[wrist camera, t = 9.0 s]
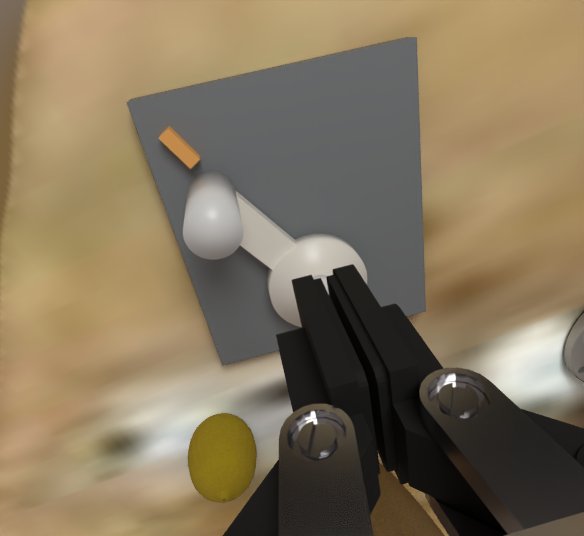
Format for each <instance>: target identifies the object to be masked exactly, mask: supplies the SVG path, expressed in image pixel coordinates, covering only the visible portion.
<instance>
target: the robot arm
mask: <svg viewBox="0 0 584 536" xmlns="http://www.w3.org/2000/svg"><path fill="white" fill-rule="evenodd" d="M326 279H327V286H328V291H329V294H328V292H327V290H326V288H325V286H324V284H323V281H322V279H321V278H318V279H313V277H312V275H308V276H304V277H300V278H296V279H292V285H293V290H294V294H295V299H296V303H297V308H298V312H299V317H300V321H301V326H302V328H299V329H295V330H291V331H287V332H283V333H280V334H276V338H277V342H278V347H279V351H280V356H281V360H282V365H283V369H284V374H285V378H286V383H287V387H288V392H289V396H290V401H291V405H292V409H293V413H292V414H291V415H290V416H289V417H288V418H287V419H286V420H285V422H284V424H283V426H282V428H281V430H280V436H279V460H278V461H277V462H276V464H275V465H274V467H273V468H272V469H271V471H270V472H269V473H268V475H267V476H266V477H265V479H264V480H263V482H262V483H261V484H260V486H259V487H258V488H257V490H256V491H255V492H254V494H253V495H252V497H251V498H250V499H249V501H248V502H247V503H246V505H245V506H244V508H243V509H242V510H241V512H240V513H239V514H238V516H237V517H236V518H235V520H234V521H233V523H232V524H231V525H230V527H229V528H228V529H227V531H226V532H225V533H224V535H223V536H374V535H373V529H372V524H371V518H370V515H371V513H372V511H373V509H374V507H375V505H376V503H377V501H378V499H379V497H380V495H381V492H380V485H379V478H378V475H379V474H380V467H379V460H378V453H379V455H380V458H381V460H382V463H383V465H384V467H385V470H386V471H387V472H390V471H393V470H395V472H396V475H397V477H398V479H399V482H400V484H405V483H409V485H410V486H411V487H413V488H415V489H417V490H419V491H421V492H423V493H425V497H426V499H427V501H428V503H429V505H430V507H431V508H432V510H433V512H434V513H435V515H436V516H437V518H438V519H439V521H440V522H441V524H442V525H443V527H444V528H445V530H446V532H447V533H448V535H449V536H584V428H580V427H577V426H574V425H571V424H568V423H564V422H561V421H558V420H555V419H552V418H549V417H545V416H542V415H539V414H536V413H533V412H529V411H526V410H523V409H520V408H519V407H518V406H517V405H515V404H514V403H513V402H512V401H511V400H510V399H509V398H508V397H507V396H506V395H505V394H504V393H502V392H501V391H500V390H499V389H498V388H497V387H496V386H495V385H494V384H493V383H492V382H491V381H489V380H488V379H486V378H485V377H484V376H482V375H481V374H479V373H476V372H474V371H471V370H468V369H463V368H444V369H443V367H442V366H441V364H440V363H439V362H438V360H437V359H436V357H435V356H434V355H433V353H432V352H431V350H430V349H429V348H428V346H427V345H426V343H425V342H424V341H423V339H422V338H421V336H420V335H419V334H418V332H417V331H416V329H415V328H414V327H413V325H412V324H411V322H410V321H409V320H408V318H407V317H406V315H405V314H404V313H403V311H402V310H401V308H400V307H399V306H398V305H397V304H391V305H387V306H383V307H381V306H380V305H379V303H378V301H377V300H376V298H375V297H374V295H373V294H372V292H371V291H370V289H369V287H368V286H367V284H366V283H365V281H364V280H363V278H362V277H361V275H360V273H359V272H358V270H357V269H356V267H355V266H354V265H353V264H351V265H347V266H343V267H339V268H335V269H333V275H330V276H327V277H326ZM564 358H565V363H566V365H567V367H568V369H569V370H570V371H571V372H572V373H573V374H574V375H575V376H576V377H577V378H578V379H580V380H581V381H583V382H584V313H583V314H582V315H581V316H580V317H579V319H578V320H577V322H576V323H575V325H574V326H573V328H572V330H571V332H570V334H569V336H568V338H567V341H566V345H565V352H564ZM377 450H378V452H377Z"/></svg>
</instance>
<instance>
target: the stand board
mask: <svg viewBox="0 0 584 536" xmlns="http://www.w3.org/2000/svg"><path fill="white" fill-rule="evenodd" d="M127 105H128V107H129V110H130V113H131V116H132V118H133V121H134V124H135V127H136V129H137V132H138V135H139V138H140V140H141V143H142V146H143V149H144V151H145V154H146V157H147V160H148V162H149V165H150V168H151V170H152V173H153V176H154V179H155V181H156V184H157V187H158V190H159V192H160V195H161V198H162V201H163V203H164V206H165V209H166V212H167V214H168V217H169V220H170V223H171V225H172V228H173V231H174V234H175V236H176V239H177V242H178V245H179V247H180V250H181V253H182V256H183V258H184V261H185V264H186V266H187V269H188V272H189V275H190V277H191V280H192V283H193V286H194V288H195V291H196V294H197V297H198V299H199V302H200V305H201V308H202V310H203V313H204V316H205V319H206V321H207V324H208V327H209V330H210V332H211V335H212V338H213V341H214V343H215V346H216V349H217V352H218V354H219V357H220V360H221V362H222V365H227V364H231V363H234V362H238V361H242V360H245V359H249V358H253V357H257V356H260V355H264V354H268V353H272V352H275V351H279V347H278V342H277V338H276V334H280V333H283V332H287V331H291V330H295V329H299V328H302V327H299V326H295V325H293V324H291V323H289V322H287V321H285V320H284V319H283V318H282V317H281V316H280V315H279V314H278V313H277V312H276V310H275V309H274V307H273V305H272V302H271V299H270V295H269V291H268V285H267V276H268V270H269V267H268V266H266V265H265V264H264V263H263V262H261V261H260V260H259V259H257V258H256V257H255V256H253V255H252V254H251V253H249V252H248V251H247V250H245V249H244V248H243V247H242V246H239V247H238V249H237V250H236V251H235V252H234V253H232V254H231V255H229V256H227V257H225V258H222V259H217V260H210V259H205V258H201V257H199V256H197V255H196V254H194V253H193V252H192V251H191V250H190V249H189V248H188V247H187V245H186V243H185V241H184V238H183V224H184V216H185V209H186V201H187V193H188V187H189V185H190V183H191V181H192V180H193V179H194V178H195V177H196V176H197V175H199V174H201V173H204V172H218V173H221V174H223V175H225V176H226V177H228V178H229V179H230V180H231V182H232V183H233V185H234V187H235V190H236V191H237V192H238V193H239V194H241V195H242V196H243V197H244V198H245V199H247V200H248V201H249V202H250V203H251V204H253V205H254V206H255V207H256V208H257V209H259V210H260V211H261V212H262V213H263V214H265V215H266V216H267V217H268V218H269V219H271V220H272V221H273V222H274V223H275V224H277V225H278V226H279V227H280V228H281V229H283V230H284V231H285V232H286V233H287V234H289V235H290V236H291V237H292V238H293V239H297V238H299V237H302V236H305V235H309V234H316V233H324V234H330V235H335V236H337V237H340V238H342V239H343V240H345V241H346V242H348V243H349V244H350V245H351V246H352V247H353V248H354V250H355V251H356V252H357V254H358V255H359V257H360V258H361V260H362V261H363V263H364V265H365V268H366V271H367V286H368V287H369V289H370V291H371V292H372V294H373V295H374V297H375V298H376V300H377V301H378V303H379V305H380V306H381V307H383V306H387V305H391V304H397V305H398V306H399V307H400V308H401V310H402V311H403V313H404V314H405V315H406V316H410V315H414V314H417V313H421V312H425V311H426V303H425V272H424V242H423V212H422V182H421V152H420V122H419V92H418V61H417V37H406V38H401V39H397V40H392V41H388V42H383V43H379V44H374V45H370V46H365V47H361V48H357V49H352V50H348V51H343V52H339V53H334V54H330V55H325V56H321V57H316V58H312V59H308V60H303V61H299V62H294V63H290V64H285V65H281V66H276V67H272V68H267V69H263V70H259V71H254V72H250V73H245V74H241V75H236V76H232V77H227V78H223V79H218V80H214V81H210V82H205V83H201V84H196V85H192V86H187V87H183V88H178V89H174V90H169V91H165V92H161V93H156V94H152V95H147V96H143V97H138V98H134V99H130V100H129V101H128V102H127Z"/></svg>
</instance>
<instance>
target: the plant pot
mask: <svg viewBox="0 0 584 536" xmlns="http://www.w3.org/2000/svg"><path fill="white" fill-rule="evenodd" d="M379 467H380V474H379V475H378V478H379V485H380V492H381V495H380V497H379V499H378V501H377V503H376V505H375V507H374V509H373V511H372V513H371V515H370V518H371V524H372V529H373V535H374V536H444V534H443V533H442V532H441V530H440V529H439V528H438V526H437V525H436V524H435V523H434V521H433V520H432V519H431V518H430V516H429V515H428V514H427V512H426V511H425V510H424V509H423V508H422V506H421V505H420V504H419V503H418V502H417V501H416V499H415V498H414V497H413V496H412V495H411V494H410V492H409V491H408V490H407V489H406V488H405V487H404V486H403V485H402V484H400V482H399V480H398V479H397V478H396V477H395V476H394V475H393V474H392V473H391V472H387V471H386V470H385V467H384V465H382V464H380V463H379Z"/></svg>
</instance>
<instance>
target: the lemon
mask: <svg viewBox="0 0 584 536" xmlns="http://www.w3.org/2000/svg"><path fill="white" fill-rule="evenodd" d="M256 455H257V452H256V444H255V441H254V437H253V434H252V432H251V430H250V428H249V427H248V425H247V424H246V423H245V422H244V421H243V420H242V419H240V418H239V417H237V416H235V415H232V414H227V413H221V414H216V415H213V416H211V417H209V418H207V419H206V420H204V421H203V422H202V423H201V424H200V425H199V426H198V427H197V429H196V430H195V432H194V434H193V436H192V438H191V441H190V446H189V452H188V466H189V471H190V476H191V480H192V482H193V485H194V486H195V488H196V490H197V491H198V492H199V493H200V494H201V495H202V496H203V497H205V498H206V499H208V500H211V501H214V502H223V503H224V502H228V501H231V500H233V499H235V498H237V497H238V496H240V495H241V494H242V493H243V492H244V491H245V490H246V489H247V488H248V486H249V485H250V483H251V481H252V479H253V476H254V472H255V467H256Z"/></svg>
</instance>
